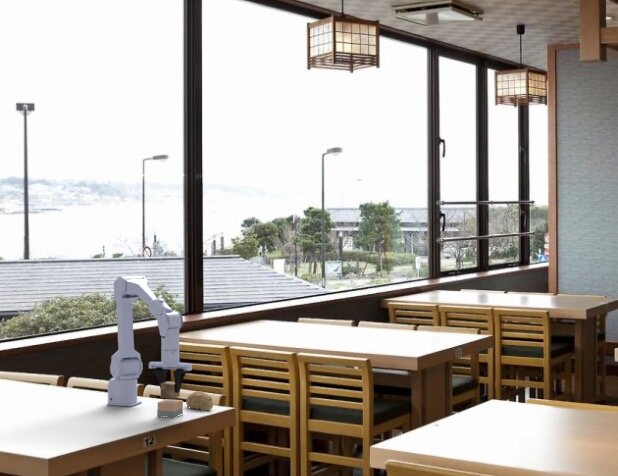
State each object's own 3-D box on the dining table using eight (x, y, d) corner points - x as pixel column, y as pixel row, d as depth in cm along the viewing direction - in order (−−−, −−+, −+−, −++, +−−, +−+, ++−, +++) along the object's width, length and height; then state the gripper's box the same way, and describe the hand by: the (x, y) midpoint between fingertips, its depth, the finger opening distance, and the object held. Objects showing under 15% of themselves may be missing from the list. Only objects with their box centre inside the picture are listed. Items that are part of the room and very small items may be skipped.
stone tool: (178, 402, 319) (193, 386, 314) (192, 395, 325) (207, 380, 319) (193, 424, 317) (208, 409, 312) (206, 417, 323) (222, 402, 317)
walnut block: (160, 397, 304) (160, 383, 304) (167, 395, 309) (167, 381, 309) (173, 398, 303) (173, 384, 303) (179, 396, 307) (179, 382, 307)
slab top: (157, 410, 304) (157, 402, 304) (166, 406, 310) (166, 399, 310) (174, 411, 302) (174, 403, 302) (182, 408, 308) (182, 400, 308)
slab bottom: (157, 418, 304) (157, 410, 304) (166, 414, 310) (166, 406, 310) (174, 419, 302) (174, 411, 302) (182, 415, 308) (182, 408, 308)
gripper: (144, 350, 304) (144, 392, 305) (185, 352, 300) (185, 395, 300) (154, 347, 311) (154, 388, 311) (194, 349, 306) (194, 391, 306)
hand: (170, 391), depth 306 cm, fingers closed on walnut block, 4 cm apart
